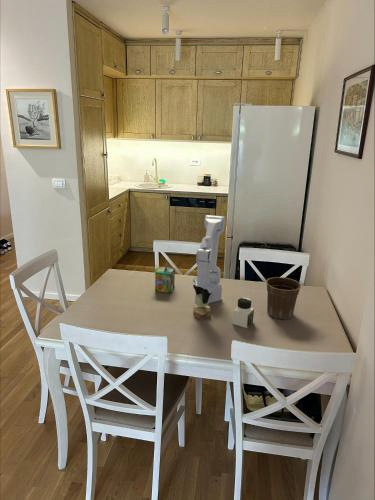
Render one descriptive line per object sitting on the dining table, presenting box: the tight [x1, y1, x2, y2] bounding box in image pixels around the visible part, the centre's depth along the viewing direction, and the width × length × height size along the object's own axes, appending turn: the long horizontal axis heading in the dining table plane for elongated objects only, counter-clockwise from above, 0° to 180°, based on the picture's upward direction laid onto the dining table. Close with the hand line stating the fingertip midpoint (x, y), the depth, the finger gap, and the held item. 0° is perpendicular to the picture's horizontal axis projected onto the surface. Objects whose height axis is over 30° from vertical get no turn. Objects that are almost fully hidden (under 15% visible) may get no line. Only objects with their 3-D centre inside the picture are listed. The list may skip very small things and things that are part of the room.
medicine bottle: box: [232, 297, 255, 329], centre depth 166 cm, size 7×7×12 cm
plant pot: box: [265, 276, 302, 320], centre depth 175 cm, size 16×16×16 cm
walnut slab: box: [192, 309, 212, 320], centre depth 174 cm, size 6×6×2 cm
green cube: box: [194, 294, 209, 307], centre depth 171 cm, size 4×4×4 cm
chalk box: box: [154, 263, 176, 294], centre depth 199 cm, size 9×9×15 cm
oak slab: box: [193, 304, 211, 315], centre depth 173 cm, size 6×6×2 cm
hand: (202, 301), depth 172 cm, fingers closed on green cube, 4 cm apart
